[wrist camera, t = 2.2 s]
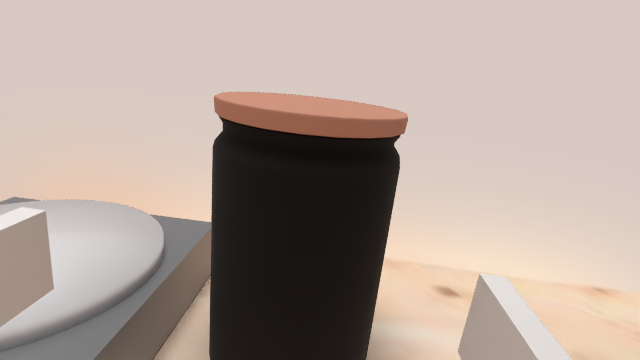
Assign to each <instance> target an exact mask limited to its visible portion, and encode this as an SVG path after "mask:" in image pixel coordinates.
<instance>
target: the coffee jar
mask: <svg viewBox="0 0 640 360" xmlns="http://www.w3.org/2000/svg"><path fill="white" fill-rule="evenodd" d="M214 106H215V112H216V113H217V114H218V115H219V117H220V119H221V120H222V122H223V131H222V132H221V133H220V134H219V136H218V137H217V138H216V139H215V141H214V145H213V167H212V226H211V287H210V347H209V355H210V360H366V356H367V350H368V345H369V339H370V333H371V328H372V322H373V316H374V311H375V305H376V299H377V294H378V288H379V282H380V277H381V271H382V265H383V260H384V254H385V248H386V243H387V237H388V231H389V226H390V220H391V214H392V209H393V203H394V198H395V192H396V186H397V181H398V175H399V169H400V157H399V154H398V152H397V150H396V148H395V147H394V143H395V141H396V140H397V139H398V138H399V137H400V135H401V134H404V132H405V129H406V125H407V121H408V117H407V114H405V113H403V112H400V111H398V110H394V109H390V108H386V107H381V106H376V105H370V104H365V103H358V102H352V101H344V100H337V99H328V98H321V97H311V96H302V95H289V94H278V93H260V92H227V93H220V94H218V95H215V96H214Z"/></svg>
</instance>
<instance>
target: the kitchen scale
mask: <svg viewBox="0 0 640 360" xmlns="http://www.w3.org/2000/svg"><path fill="white" fill-rule="evenodd" d="M21 207H25V208H32V209H39V210H46V217H47V227H48V236H49V246H50V255H51V265H52V274H53V283H54V289H53V290H52V291H50V292H49V293H48V294H46V295H45V296H43V297H42V298H41V299H39V300H38V301H36V302H35V303H34V304H32V305H31V306H29V307H28V308H27V309H25V310H24V311H22V312H21V313H20V314H18V315H17V316H15V317H14V318H13V319H11V320H10V321H8V322H7V323H6V324H4V325H3V326H2V327H0V360H153V358H154V357H155V355H156V354H157V352H158V351H159V350H160V348H161V347H162V345H163V344H164V342H165V341H166V339H167V338H168V336H169V335H170V333H171V332H172V331H173V329H174V328H175V326H176V325H177V323H178V322H179V320H180V319H181V317H182V316H183V315H184V313H185V312H186V310H187V309H188V307H189V306H190V304H191V303H192V301H193V300H194V299H195V297H196V296H197V294H198V293H199V291H200V290H201V288H202V287H203V285H204V284H205V282H206V281H207V280H208V278H209V277H210V275H211V226H212V223H211V222H203V221H195V220H188V219H180V218H172V217H165V216H157V215H149V214H147V213H145V212H143V211H141V210H138V209H136V208H133V207H129V206H126V205H121V204H116V203H110V202H103V201H93V200H43V201H40V200H33V199H25V198H18V197H13V198H10V199H7V200H4V201H2V202H0V215H3V214H5V213H8V212H10V211H13V210H15V209H18V208H21Z"/></svg>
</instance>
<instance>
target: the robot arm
mask: <svg viewBox="0 0 640 360" xmlns="http://www.w3.org/2000/svg"><path fill="white" fill-rule="evenodd" d="M53 289H54V283H53V274H52V265H51V255H50V246H49V236H48V227H47V217H46V210H39V209H32V208H25V207H21V208H18V209H15V210H13V211H10V212H8V213H5V214H3V215H0V327H2V326H3V325H4V324H6V323H7V322H8V321H10V320H11V319H13V318H14V317H15V316H17V315H18V314H20V313H21V312H22V311H24V310H25V309H27V308H28V307H29V306H31V305H32V304H34V303H35V302H36V301H38V300H39V299H41V298H42V297H43V296H45V295H46V294H48V293H49V292H50V291H52V290H53ZM458 353H459V355H460V357H461V360H572V359H571V358H570V356H569V355H568V354H567V353H566V351H565V350H564V349H563V348H562V346H561V345H560V344H559V343H558V341H557V340H556V339H555V338H554V336H553V335H552V334H551V333H550V331H549V330H548V329H547V328H546V326H545V325H544V324H543V323H542V321H541V320H540V319H539V318H538V316H537V315H536V314H535V313H534V311H533V310H532V309H531V308H530V306H529V305H528V304H527V303H526V301H525V300H524V299H523V298H522V296H521V295H520V294H519V293H518V291H517V290H516V289H515V288H514V286H513V285H512V284H511V283H510V281H509V280H508V279H507V278H506V277H500V276H493V275H486V274H479V278H478V281H477V285H476V288H475V292H474V295H473V299H472V303H471V306H470V310H469V313H468V317H467V320H466V324H465V327H464V331H463V334H462V338H461V342H460V345H459V349H458Z"/></svg>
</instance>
